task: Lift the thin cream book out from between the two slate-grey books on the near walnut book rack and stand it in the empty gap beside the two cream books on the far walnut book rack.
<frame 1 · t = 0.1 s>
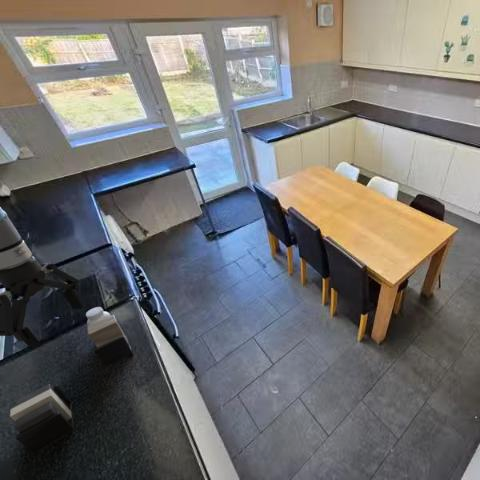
hand: (58, 325, 75), 24 cm above the worktop, tool pointing down, fingers open, 13 cm apart
supplement bottle: (109, 336, 101), on the worktop
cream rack: (117, 351, 95), on the worktop
grey rack: (55, 426, 74), on the worktop
cream book: (53, 424, 74), point 1 cm above the worktop, touching grey rack
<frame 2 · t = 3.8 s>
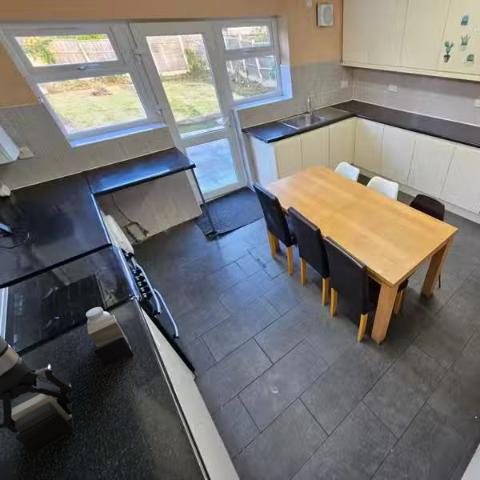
hand: (50, 421, 73), 3 cm above the worktop, tool pointing down, fingers closed on cream book, 8 cm apart
cream book: (53, 424, 74), point 1 cm above the worktop, touching grey rack, gripper
everything else where it was.
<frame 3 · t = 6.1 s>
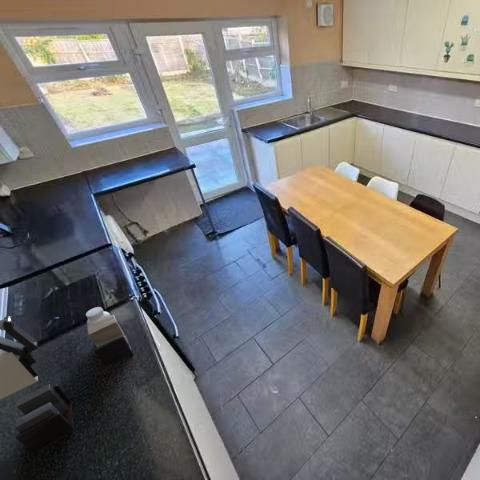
hand: (12, 383, 65), 20 cm above the worktop, tool pointing down, fingers closed on cream book, 8 cm apart
cream book: (17, 388, 65), point 18 cm above the worktop, touching gripper
everything else where it was.
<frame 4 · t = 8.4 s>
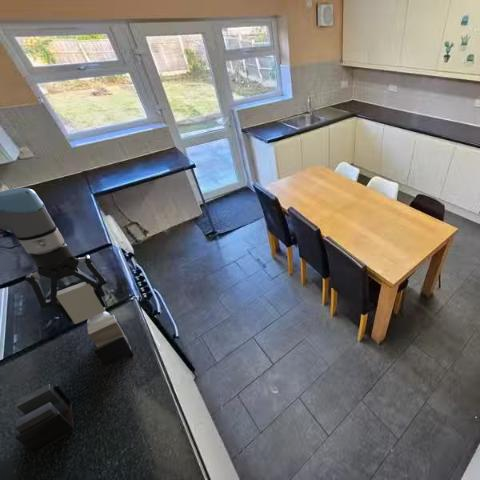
hand: (87, 311, 82), 22 cm above the worktop, tool pointing down, fingers closed on cream book, 8 cm apart
cream book: (90, 315, 83), point 20 cm above the worktop, touching gripper
everything else where it was.
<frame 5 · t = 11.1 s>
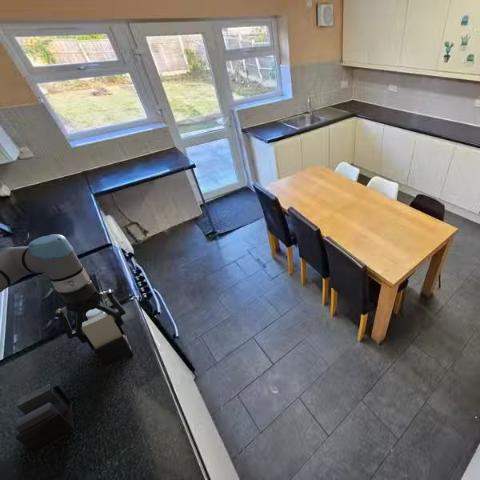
hand: (108, 339, 89), 9 cm above the worktop, tool pointing down, fingers closed on cream book, 8 cm apart
cream book: (110, 342, 90), point 7 cm above the worktop, touching gripper
everything else where it was.
when the fingers open (3 cm above the worktop, at t = 13.0 s): cream book stays where it is, resting on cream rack.
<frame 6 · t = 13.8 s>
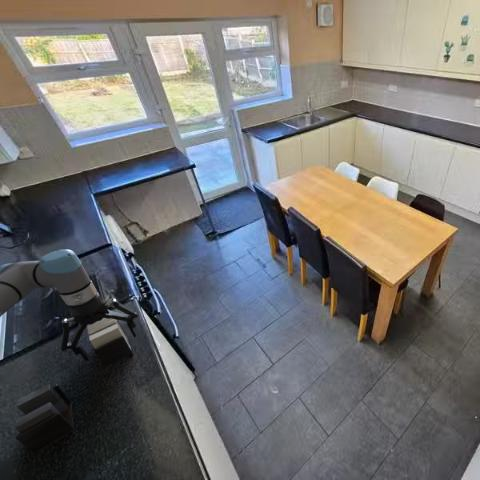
hand: (111, 346, 91), 5 cm above the worktop, tool pointing down, fingers open, 13 cm apart
cream book: (117, 354, 93), point 1 cm above the worktop, touching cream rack
everything else where it was.
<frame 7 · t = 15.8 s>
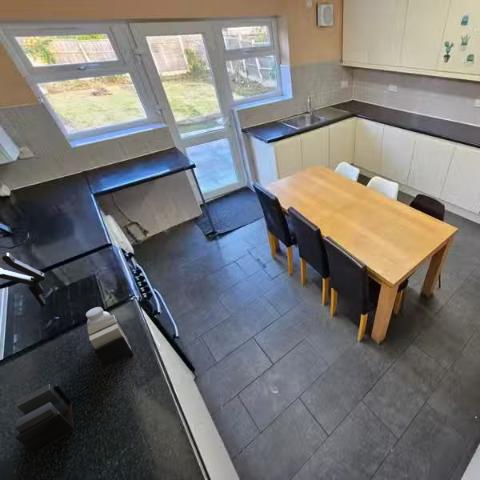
hand: (8, 316, 70), 30 cm above the worktop, tool pointing down, fingers open, 13 cm apart
nothing on the worktop moved.
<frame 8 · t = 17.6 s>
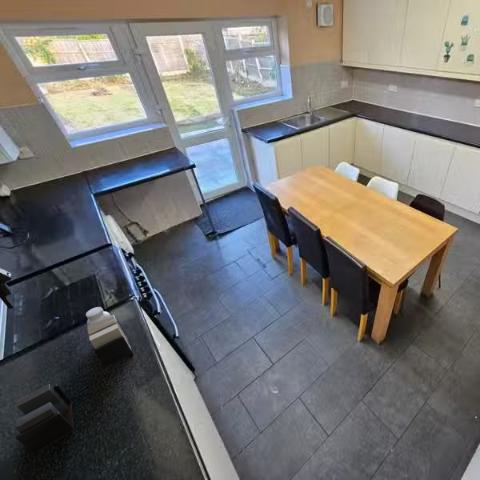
nothing on the worktop moved.
at the end: cream book 0.1 cm from the target spot on the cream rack, point 1.0 cm above the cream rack's base; cream book tilted 0°; the gripper is holding nothing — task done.
